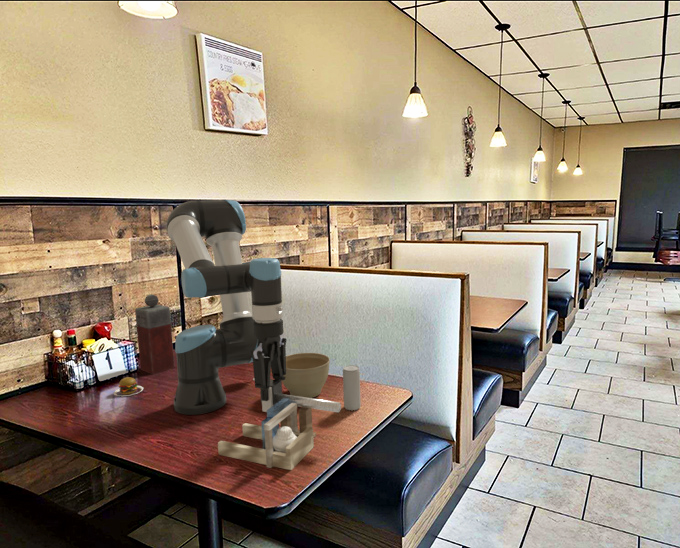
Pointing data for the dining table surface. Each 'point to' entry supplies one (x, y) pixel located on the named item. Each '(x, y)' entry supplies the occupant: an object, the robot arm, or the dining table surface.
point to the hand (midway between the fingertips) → (272, 407)
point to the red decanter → (154, 336)
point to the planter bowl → (306, 374)
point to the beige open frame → (268, 456)
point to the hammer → (285, 400)
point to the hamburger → (127, 386)
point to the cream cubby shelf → (300, 420)
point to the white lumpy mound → (283, 439)
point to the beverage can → (351, 387)
